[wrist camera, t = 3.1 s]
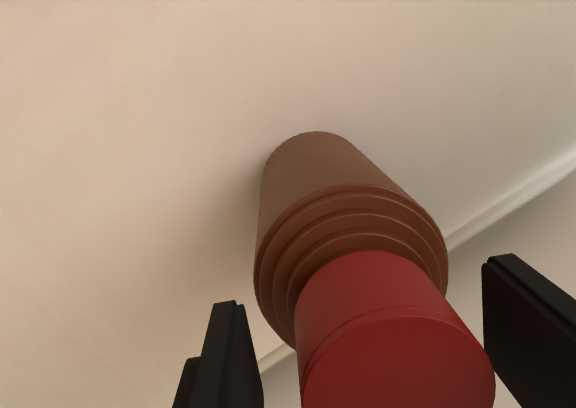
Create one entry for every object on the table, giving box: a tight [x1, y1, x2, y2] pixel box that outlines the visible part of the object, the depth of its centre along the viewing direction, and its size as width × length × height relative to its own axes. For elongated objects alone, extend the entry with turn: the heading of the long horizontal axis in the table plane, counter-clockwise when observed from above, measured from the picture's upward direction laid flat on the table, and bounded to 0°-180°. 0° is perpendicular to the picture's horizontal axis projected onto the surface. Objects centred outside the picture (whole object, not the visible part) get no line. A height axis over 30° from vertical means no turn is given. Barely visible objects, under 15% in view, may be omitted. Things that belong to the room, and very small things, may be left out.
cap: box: [294, 251, 496, 408], centre depth 10 cm, size 4×4×3 cm
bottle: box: [253, 132, 448, 350], centre depth 17 cm, size 6×6×17 cm
